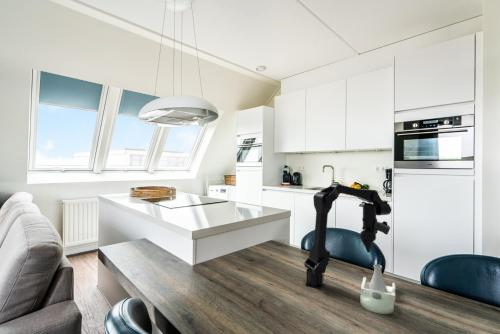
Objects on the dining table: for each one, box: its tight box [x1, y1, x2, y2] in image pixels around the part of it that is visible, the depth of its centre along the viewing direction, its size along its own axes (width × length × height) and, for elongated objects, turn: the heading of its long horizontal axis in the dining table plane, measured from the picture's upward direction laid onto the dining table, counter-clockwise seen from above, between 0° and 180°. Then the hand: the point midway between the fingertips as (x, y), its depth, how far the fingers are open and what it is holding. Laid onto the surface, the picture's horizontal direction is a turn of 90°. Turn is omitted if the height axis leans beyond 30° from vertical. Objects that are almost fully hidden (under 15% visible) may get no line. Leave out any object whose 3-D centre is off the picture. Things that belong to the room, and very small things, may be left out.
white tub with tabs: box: [359, 276, 396, 315], centre depth 100 cm, size 12×23×4 cm, turn 151°
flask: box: [368, 264, 387, 293], centre depth 104 cm, size 7×7×10 cm
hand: (369, 249), depth 120 cm, fingers open, 9 cm apart
